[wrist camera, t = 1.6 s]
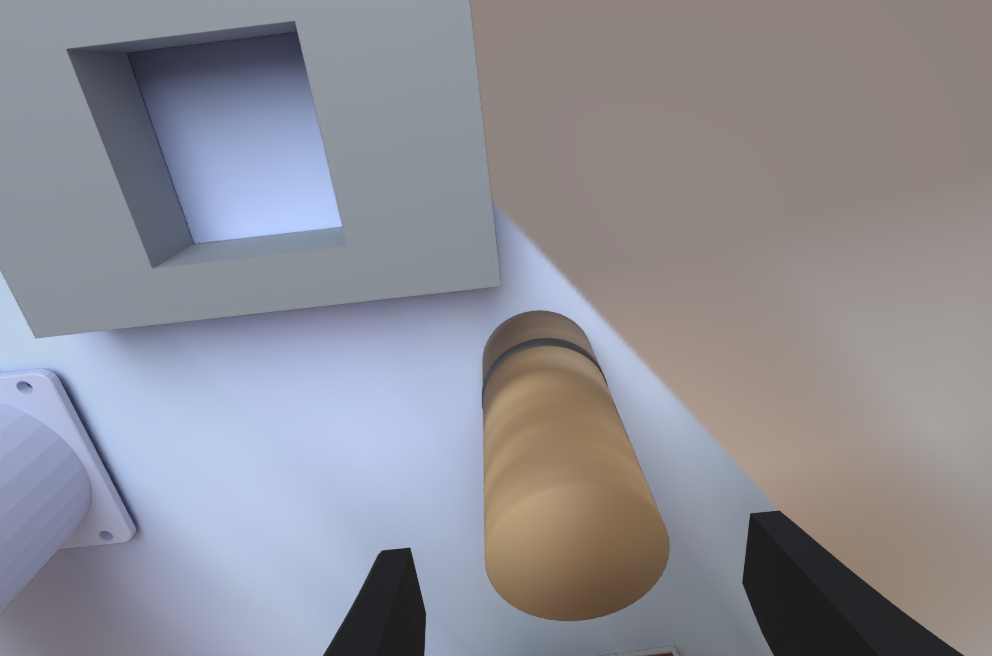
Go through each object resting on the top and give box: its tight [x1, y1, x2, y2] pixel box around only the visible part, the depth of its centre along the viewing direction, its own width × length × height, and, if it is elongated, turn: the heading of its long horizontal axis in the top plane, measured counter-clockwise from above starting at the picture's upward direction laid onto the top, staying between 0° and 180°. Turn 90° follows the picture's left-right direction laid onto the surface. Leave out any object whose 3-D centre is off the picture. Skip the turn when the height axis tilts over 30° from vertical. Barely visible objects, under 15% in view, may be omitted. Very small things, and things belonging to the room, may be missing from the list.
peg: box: [482, 311, 669, 621], centre depth 16 cm, size 4×4×9 cm
